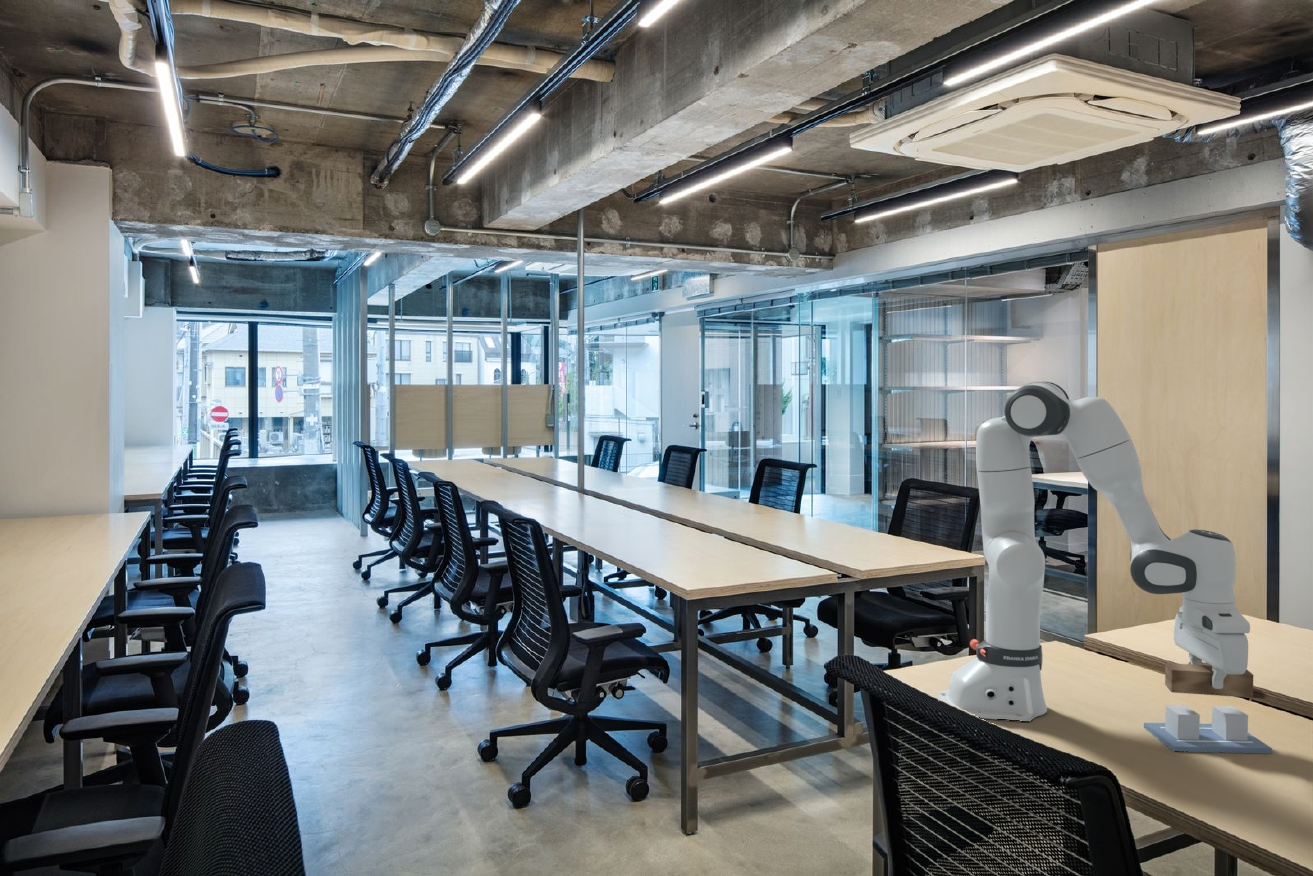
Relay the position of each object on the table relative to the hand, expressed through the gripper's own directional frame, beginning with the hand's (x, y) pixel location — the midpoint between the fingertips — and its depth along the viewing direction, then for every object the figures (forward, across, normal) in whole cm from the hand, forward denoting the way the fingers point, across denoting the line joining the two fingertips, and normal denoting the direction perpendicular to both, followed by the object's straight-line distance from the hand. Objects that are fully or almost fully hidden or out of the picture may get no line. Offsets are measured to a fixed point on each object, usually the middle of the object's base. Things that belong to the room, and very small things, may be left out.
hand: (1207, 682), depth 173 cm
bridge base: (+12, 0, 0) cm, 12 cm away
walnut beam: (+2, 0, 0) cm, 2 cm away
